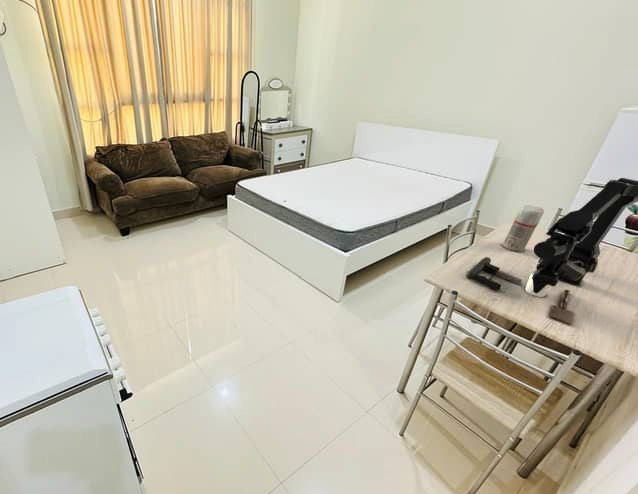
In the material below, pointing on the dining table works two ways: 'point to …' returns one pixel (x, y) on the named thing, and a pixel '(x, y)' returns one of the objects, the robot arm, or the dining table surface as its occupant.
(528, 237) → the spray can
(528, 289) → the white cup
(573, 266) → the robot arm
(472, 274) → the door handle
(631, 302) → the dining table surface
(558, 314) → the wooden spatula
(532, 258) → the dining table surface
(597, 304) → the dining table surface
